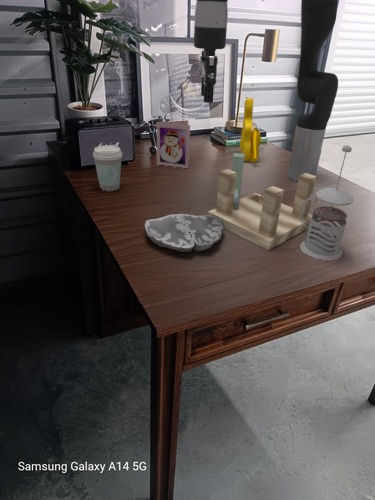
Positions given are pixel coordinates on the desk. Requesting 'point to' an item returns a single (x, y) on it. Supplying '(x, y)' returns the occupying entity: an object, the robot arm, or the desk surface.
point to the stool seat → (263, 211)
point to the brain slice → (185, 231)
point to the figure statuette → (249, 135)
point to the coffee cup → (108, 166)
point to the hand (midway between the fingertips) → (206, 98)
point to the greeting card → (173, 143)
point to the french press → (322, 242)
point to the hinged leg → (237, 176)
